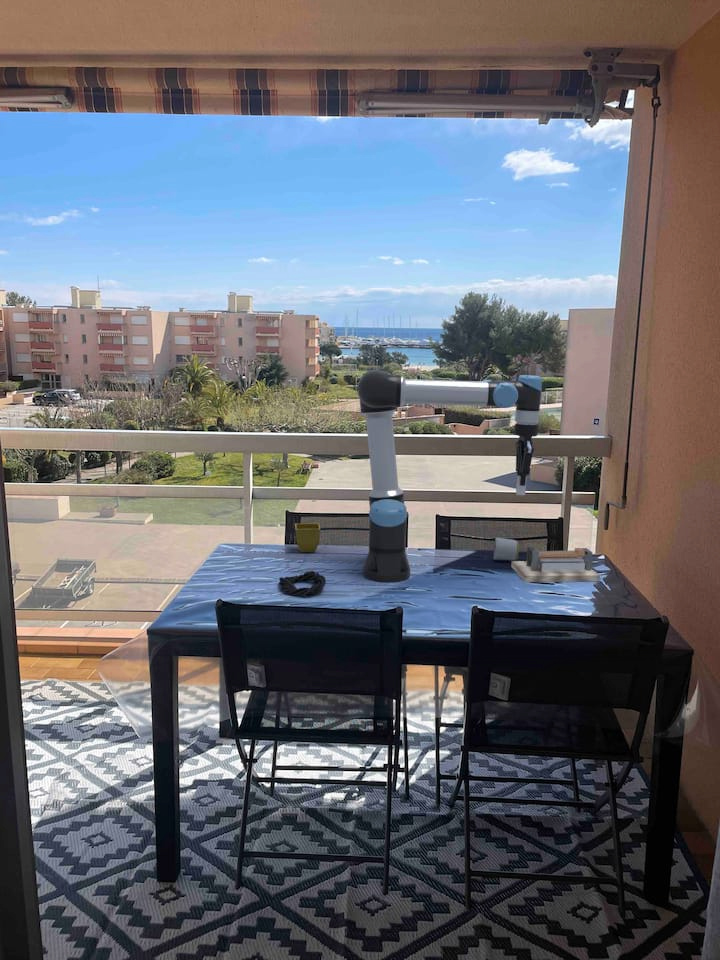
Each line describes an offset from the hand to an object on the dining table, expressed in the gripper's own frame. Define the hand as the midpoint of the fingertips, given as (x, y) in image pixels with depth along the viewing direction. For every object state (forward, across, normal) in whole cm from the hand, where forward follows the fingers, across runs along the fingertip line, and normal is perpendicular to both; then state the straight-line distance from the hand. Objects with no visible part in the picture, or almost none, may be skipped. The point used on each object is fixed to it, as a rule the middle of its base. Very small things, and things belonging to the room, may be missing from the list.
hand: (520, 494), depth 247 cm
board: (+24, -8, -11) cm, 28 cm away
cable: (+27, -22, +71) cm, 79 cm away
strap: (+18, -8, -11) cm, 23 cm away
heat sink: (+22, -8, -12) cm, 27 cm away
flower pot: (+27, +20, +70) cm, 77 cm away
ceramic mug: (+25, +10, +1) cm, 27 cm away
